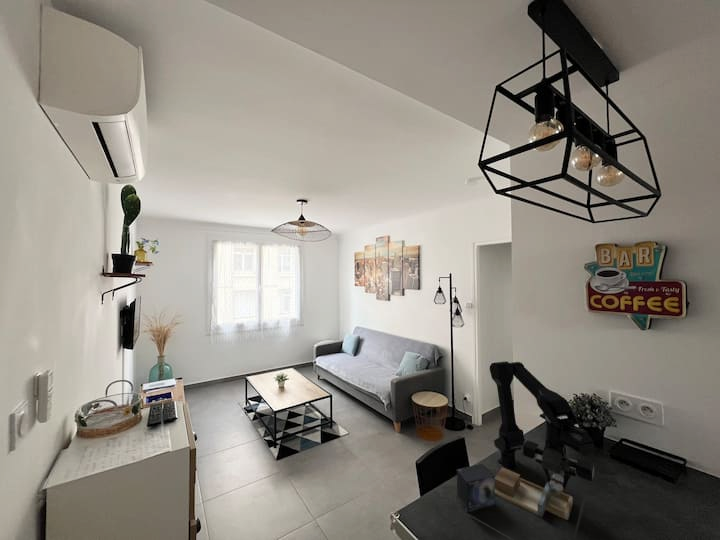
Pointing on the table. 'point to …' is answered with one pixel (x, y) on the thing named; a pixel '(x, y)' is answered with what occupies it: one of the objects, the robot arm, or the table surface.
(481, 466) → the small box
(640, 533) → the table surface
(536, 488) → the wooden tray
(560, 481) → the roller
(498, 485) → the slab
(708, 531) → the table surface
